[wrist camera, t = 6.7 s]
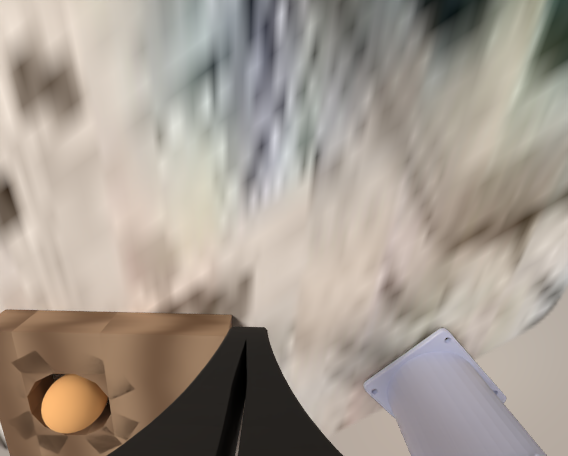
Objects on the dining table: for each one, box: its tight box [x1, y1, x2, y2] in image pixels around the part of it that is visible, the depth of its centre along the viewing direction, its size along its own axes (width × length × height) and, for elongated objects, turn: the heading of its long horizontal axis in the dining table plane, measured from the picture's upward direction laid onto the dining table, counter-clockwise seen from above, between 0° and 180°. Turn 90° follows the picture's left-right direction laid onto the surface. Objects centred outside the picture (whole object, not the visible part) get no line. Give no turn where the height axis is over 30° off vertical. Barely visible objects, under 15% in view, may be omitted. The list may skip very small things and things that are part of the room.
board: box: [0, 310, 232, 456], centre depth 24 cm, size 16×12×2 cm
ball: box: [41, 374, 108, 433], centre depth 23 cm, size 4×4×4 cm
